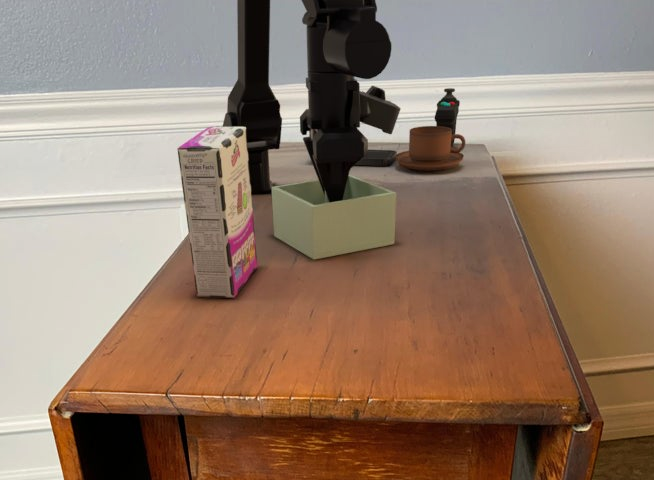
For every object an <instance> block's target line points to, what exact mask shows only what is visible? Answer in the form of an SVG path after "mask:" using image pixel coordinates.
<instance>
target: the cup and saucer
mask: <svg viewBox="0 0 654 480" xmlns="http://www.w3.org/2000/svg"><path fill="white" fill-rule="evenodd" d="M408 139H409V140H408V141H409V143H408V150H405V151H401V152H397V155H396V156H395V158H396V159H395V161H396V162H397V163H398V165H400V166H402V167H404V168H407V169H410V170H415V171H416V170H417V171H427V172H428V171H429V172H430V171H440V170H441V171H442V170H446V169H450V168H454V167H455V166H458V165H459V164H460V163H461V162H462V161H463V160H464V154H463V153H461V152H462V151H463V150H464V149H465V147H466V139H465V136H464V135H462V134H459V133H455V134H454V135H452V129H451V128H448V127H442V126H436V125H422V126H415V127H412V128H410V129H409V137H408ZM453 139H455V140H456V139H459V140H460V141H461V145H460V147H458V148H453V147H451V140H453Z"/></svg>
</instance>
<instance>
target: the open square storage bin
mask: <svg viewBox="0 0 654 480" xmlns="http://www.w3.org/2000/svg"><path fill="white" fill-rule="evenodd" d="M271 203H272V223H273V236H274V238H276V239H279V240H280V241H282V242H283V243H284V244H286V245H288V246H289V247H292V248H293V249H295V250H297V251H299V252H300V253H302V254H303V255H305V256H307V257H309V258H310V259H312V260H313V261H314V260H318V259H319V260H320V259H325V258H330V257H334V256H335V257H336V256H339V255H345V254H350V253H355V252H362V251H367V250H371V249H376V248H380V247H381V248H382V247H386V246H391V245H395V239H396V237H395V236H396V207H397V192H395V191H392V190H391V189H388V188H385V187H382V186H380V185H377V184H375V183H373V182H369V181H367V180H365V179H362V178H359V177H358V176H354V175H352V174H349V175H348V179H347V183H346V188H345V192H344V196H343V200H342V201H336V202H330V203H325V195H324V193H323V190H322V188H321V185H320V182H319V180H318V179H313V180H307V181H300V182H294V183H288V184H281V185H275V186H274V185H273V187H272V192H271Z"/></svg>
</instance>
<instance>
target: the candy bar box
mask: <svg viewBox="0 0 654 480" xmlns="http://www.w3.org/2000/svg"><path fill="white" fill-rule="evenodd" d="M176 150H177V157H178V163H179V173H180V180H181V187H182V195H183V202H184V203H183V204H184V209H185V216H186V224H187V230H188V231H187V233H188V239H189V246H190V253H191V261H192V262H191V263H192V270H193V278H194V286H195V292H196V296H197V297H199V298H206V299H207V298H214V299H215V298H216V299H235V298H236V297H237V295H238V294H239V292H240V291H241V290H242V289H243V287H244V286H245V284H246V283H247V281H248V280H249V278H250V277H251V276H252V274H254V272H255V270H256V269H257V268H258V256H257V246H256V244H257V243H256V234H255V233H256V232H255V223H254V221H255V220H254V210H253V209H254V208H253V199H252V198H253V197H252V193H251V183H250V172H249V159H248V148H247V136H246V127H237V126H233V127H230V126H223V125H222V126H217V125H216V126H209V127H206V128H205V129H203V130H201V132H199V133H197V134H196V135H194V136H193V137H191V138H190V139H188V140H187V141H186V142H184V143H182V144H181V145H180V146H178V147H177V148H176Z"/></svg>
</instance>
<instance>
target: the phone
mask: <svg viewBox="0 0 654 480" xmlns="http://www.w3.org/2000/svg"><path fill="white" fill-rule="evenodd" d="M397 154H398V151H397V150H393V149H368V156H367V157H364V158H362V160H361V161H358V162H357V163H356V164H355V165H354V166H377V167H378V166H379V167H386V166H390V165H392V164H393V163H394V162H395V161H396V158H395V156H396V155H397ZM310 161H311V160H310ZM311 163H312V161H311Z"/></svg>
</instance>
